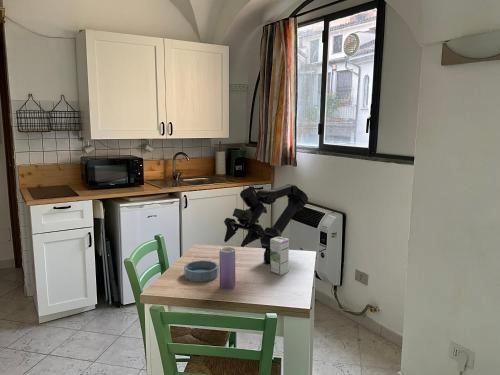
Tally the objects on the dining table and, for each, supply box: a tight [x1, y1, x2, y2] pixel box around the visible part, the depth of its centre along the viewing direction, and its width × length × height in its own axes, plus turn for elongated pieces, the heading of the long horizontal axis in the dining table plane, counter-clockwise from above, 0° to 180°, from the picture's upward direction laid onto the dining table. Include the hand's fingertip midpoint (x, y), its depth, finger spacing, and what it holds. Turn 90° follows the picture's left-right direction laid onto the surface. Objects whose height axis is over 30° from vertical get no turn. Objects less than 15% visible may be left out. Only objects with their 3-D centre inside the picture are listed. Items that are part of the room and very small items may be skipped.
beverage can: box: [218, 246, 236, 291], centre depth 153 cm, size 6×6×15 cm
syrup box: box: [269, 236, 290, 276], centre depth 169 cm, size 6×6×14 cm
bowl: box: [183, 259, 220, 283], centre depth 166 cm, size 14×14×4 cm
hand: (233, 244), depth 160 cm, fingers open, 9 cm apart
